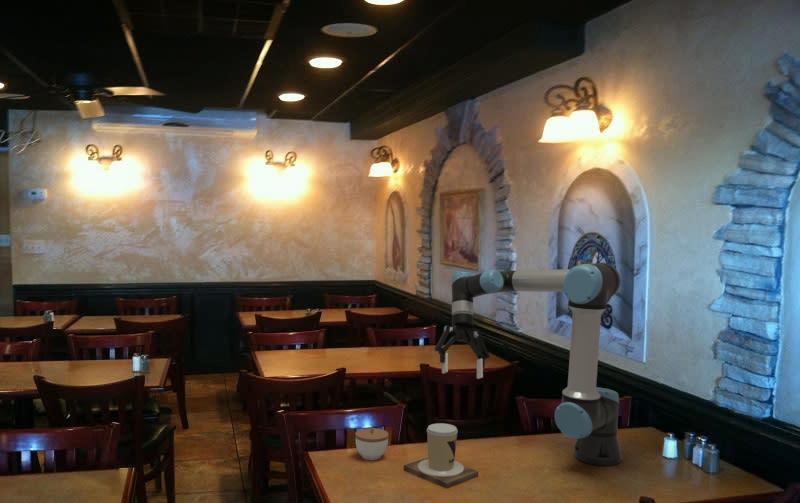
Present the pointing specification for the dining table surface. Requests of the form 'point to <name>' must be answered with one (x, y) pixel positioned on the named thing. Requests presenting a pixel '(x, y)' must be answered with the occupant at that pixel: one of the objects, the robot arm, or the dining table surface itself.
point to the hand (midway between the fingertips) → (462, 375)
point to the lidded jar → (371, 443)
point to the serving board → (441, 473)
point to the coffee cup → (441, 446)
